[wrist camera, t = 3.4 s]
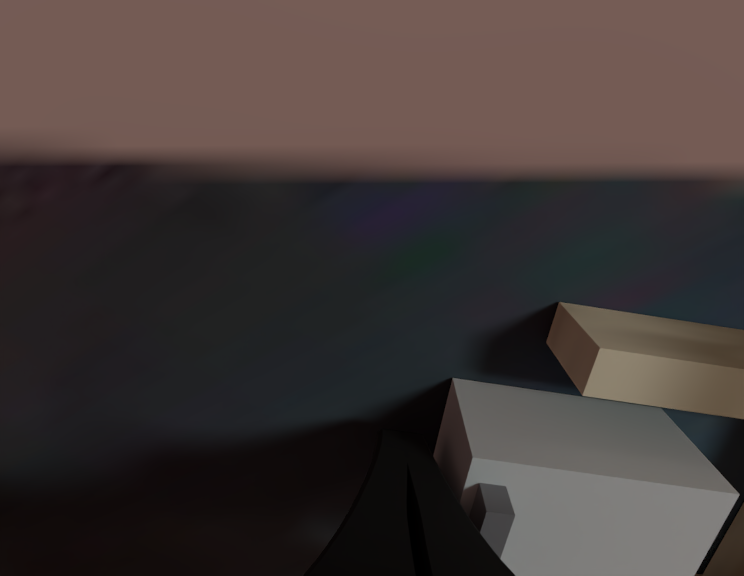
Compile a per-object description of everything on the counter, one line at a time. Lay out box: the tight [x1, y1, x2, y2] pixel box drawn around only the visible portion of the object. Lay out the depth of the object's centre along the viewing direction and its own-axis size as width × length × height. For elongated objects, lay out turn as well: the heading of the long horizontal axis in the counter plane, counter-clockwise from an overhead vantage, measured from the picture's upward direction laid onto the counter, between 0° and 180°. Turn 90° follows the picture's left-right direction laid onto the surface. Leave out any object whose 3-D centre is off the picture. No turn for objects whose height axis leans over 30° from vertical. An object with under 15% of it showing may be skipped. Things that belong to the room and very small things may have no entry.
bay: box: [546, 302, 744, 576], centre depth 13 cm, size 9×10×2 cm
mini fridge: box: [433, 378, 740, 576], centre depth 12 cm, size 6×4×4 cm
